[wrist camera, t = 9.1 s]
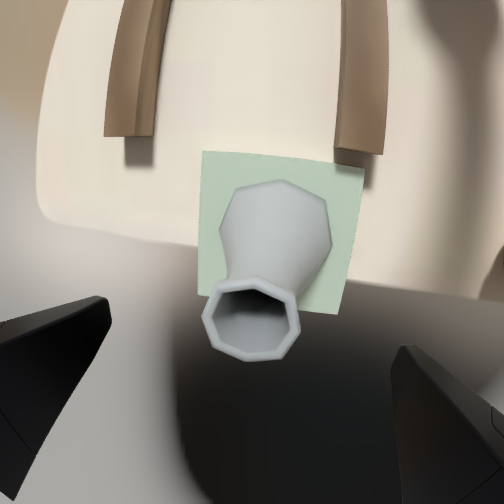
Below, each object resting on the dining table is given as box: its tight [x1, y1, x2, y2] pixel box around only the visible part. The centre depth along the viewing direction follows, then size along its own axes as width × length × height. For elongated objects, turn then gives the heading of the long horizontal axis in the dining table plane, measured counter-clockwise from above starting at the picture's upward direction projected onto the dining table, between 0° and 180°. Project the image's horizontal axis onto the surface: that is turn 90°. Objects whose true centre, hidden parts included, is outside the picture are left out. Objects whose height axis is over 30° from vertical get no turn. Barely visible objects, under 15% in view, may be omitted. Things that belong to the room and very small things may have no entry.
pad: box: [198, 151, 365, 315], centre depth 19 cm, size 10×10×1 cm
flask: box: [201, 179, 333, 362], centre depth 14 cm, size 7×7×10 cm
